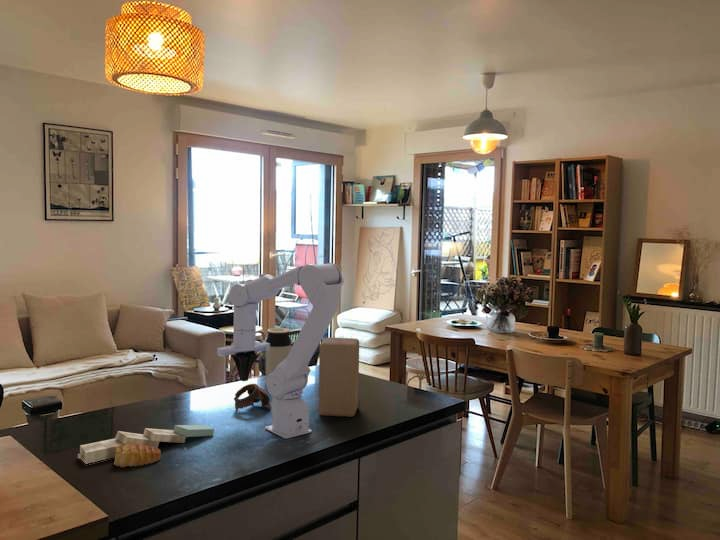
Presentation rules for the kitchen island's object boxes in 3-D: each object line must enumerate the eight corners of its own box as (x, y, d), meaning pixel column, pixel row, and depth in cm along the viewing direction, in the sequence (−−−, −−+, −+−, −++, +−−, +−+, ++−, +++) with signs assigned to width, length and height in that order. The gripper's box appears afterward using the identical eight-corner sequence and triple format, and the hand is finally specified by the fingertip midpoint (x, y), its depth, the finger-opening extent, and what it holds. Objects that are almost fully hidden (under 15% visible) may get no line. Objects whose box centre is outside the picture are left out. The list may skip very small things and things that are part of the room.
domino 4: (186, 436, 138) (154, 433, 132) (184, 442, 137) (152, 441, 132) (176, 430, 141) (145, 428, 136) (174, 437, 141) (143, 435, 135)
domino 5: (214, 429, 143) (188, 429, 136) (213, 435, 142) (187, 436, 136) (200, 424, 145) (174, 425, 139) (199, 431, 145) (173, 432, 139)
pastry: (160, 453, 131) (160, 437, 131) (161, 465, 125) (161, 448, 124) (115, 458, 128) (114, 441, 127) (113, 470, 121) (113, 453, 121)
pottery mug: (274, 415, 160) (261, 392, 157) (243, 430, 160) (229, 407, 157) (273, 393, 171) (260, 370, 168) (243, 406, 171) (230, 385, 168)
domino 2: (124, 451, 129) (86, 460, 123) (124, 458, 129) (86, 468, 123) (115, 445, 132) (77, 454, 127) (115, 452, 132) (78, 461, 127)
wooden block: (358, 407, 168) (359, 338, 166) (354, 418, 158) (356, 344, 157) (323, 405, 169) (324, 336, 167) (317, 416, 159) (319, 343, 158)
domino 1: (125, 444, 129) (86, 452, 124) (125, 451, 129) (86, 460, 124) (118, 437, 132) (80, 445, 127) (118, 444, 133) (80, 452, 128)
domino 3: (159, 441, 134) (127, 437, 128) (157, 448, 133) (124, 444, 128) (149, 435, 137) (117, 430, 132) (147, 442, 137) (115, 438, 131)
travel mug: (267, 388, 185) (267, 332, 184) (264, 382, 193) (264, 327, 192) (292, 387, 188) (292, 331, 186) (288, 380, 195) (289, 327, 194)
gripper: (260, 324, 161) (259, 373, 162) (212, 329, 152) (211, 380, 153) (274, 328, 156) (273, 378, 157) (225, 333, 147) (224, 386, 148)
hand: (243, 380), depth 155 cm, fingers closed
